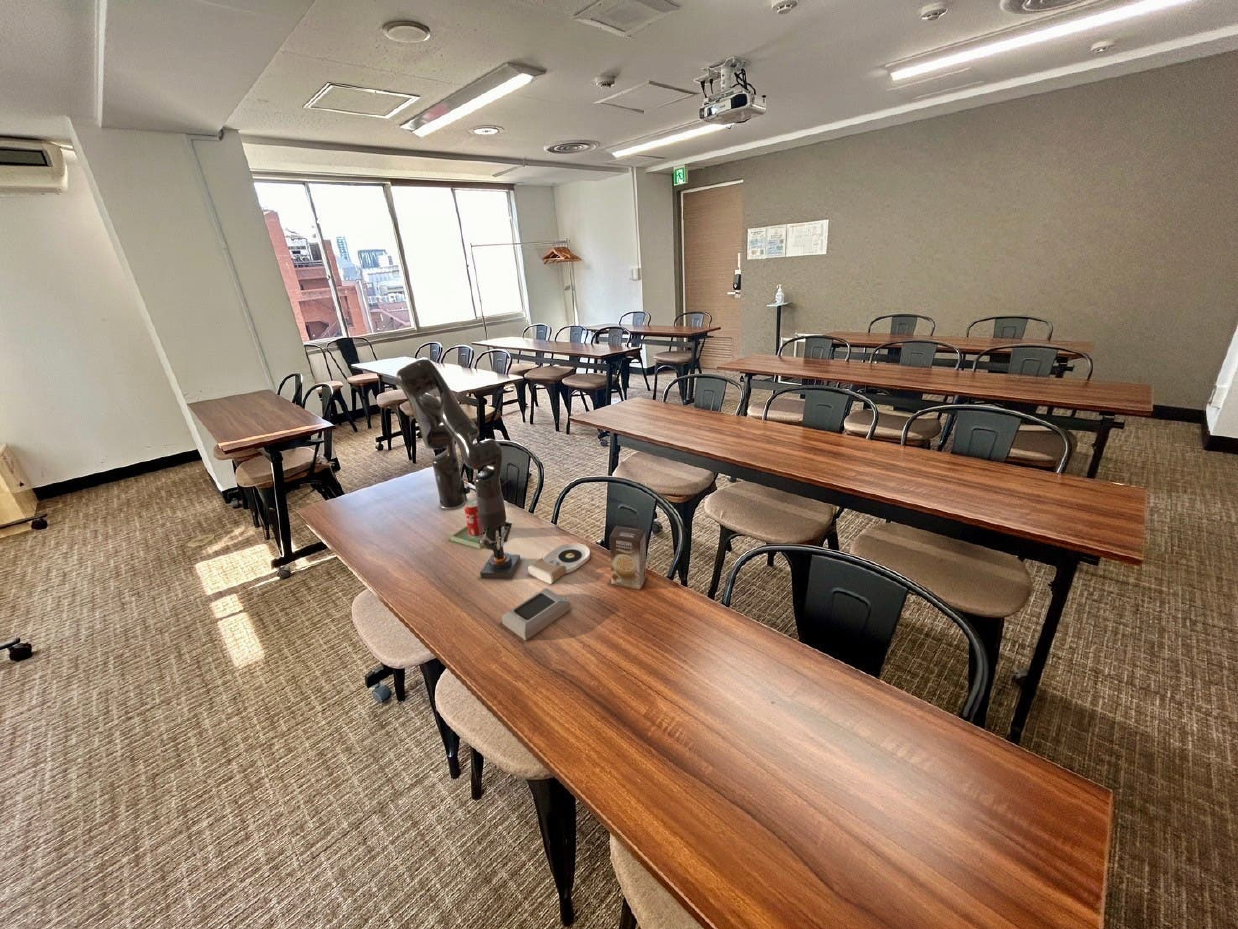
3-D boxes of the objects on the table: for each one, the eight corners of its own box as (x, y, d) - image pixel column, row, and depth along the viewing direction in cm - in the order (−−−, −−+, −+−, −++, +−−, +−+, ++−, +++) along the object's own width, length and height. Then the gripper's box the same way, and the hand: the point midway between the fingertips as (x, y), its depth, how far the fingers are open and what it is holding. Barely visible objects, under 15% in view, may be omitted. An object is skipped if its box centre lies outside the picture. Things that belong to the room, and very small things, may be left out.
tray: (477, 522, 175) (477, 518, 174) (506, 530, 169) (505, 526, 168) (450, 540, 164) (450, 536, 163) (480, 548, 158) (479, 544, 158)
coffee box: (610, 584, 138) (607, 536, 131) (617, 571, 143) (615, 524, 137) (641, 589, 135) (639, 540, 129) (647, 576, 140) (646, 529, 134)
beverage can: (471, 530, 169) (465, 499, 164) (489, 528, 169) (484, 498, 165) (467, 539, 163) (461, 508, 159) (486, 538, 164) (480, 506, 159)
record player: (525, 564, 143) (569, 535, 158) (526, 573, 144) (569, 543, 159) (553, 577, 137) (597, 545, 152) (554, 586, 138) (597, 554, 153)
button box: (493, 559, 152) (491, 548, 150) (520, 560, 151) (519, 549, 149) (481, 578, 143) (479, 567, 141) (510, 579, 142) (508, 568, 140)
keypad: (569, 598, 127) (523, 629, 117) (570, 609, 128) (525, 640, 118) (545, 584, 133) (500, 612, 123) (547, 595, 134) (502, 623, 124)
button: (496, 559, 148) (496, 554, 147) (508, 559, 147) (507, 554, 147) (492, 565, 144) (491, 561, 144) (504, 566, 144) (503, 561, 143)
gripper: (496, 495, 146) (504, 544, 152) (465, 514, 135) (474, 566, 141) (516, 499, 142) (522, 549, 149) (485, 519, 131) (494, 572, 138)
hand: (499, 557), depth 145 cm, fingers closed
